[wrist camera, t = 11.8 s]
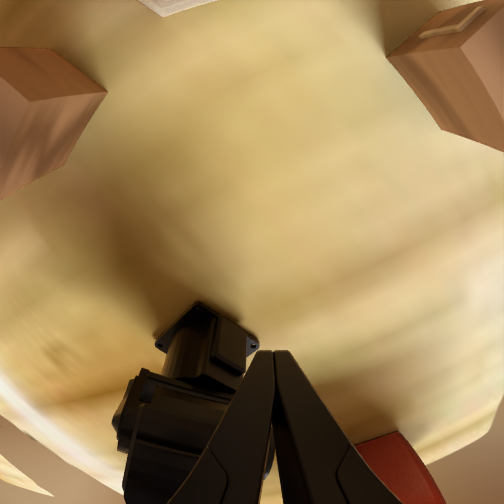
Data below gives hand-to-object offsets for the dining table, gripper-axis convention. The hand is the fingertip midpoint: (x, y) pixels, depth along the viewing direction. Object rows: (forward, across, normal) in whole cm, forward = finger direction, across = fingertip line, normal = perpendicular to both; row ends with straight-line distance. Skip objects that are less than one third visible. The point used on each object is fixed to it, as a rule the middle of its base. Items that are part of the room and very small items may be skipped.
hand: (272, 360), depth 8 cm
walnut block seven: (+13, -12, -10) cm, 20 cm away
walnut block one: (+13, +14, -7) cm, 20 cm away
